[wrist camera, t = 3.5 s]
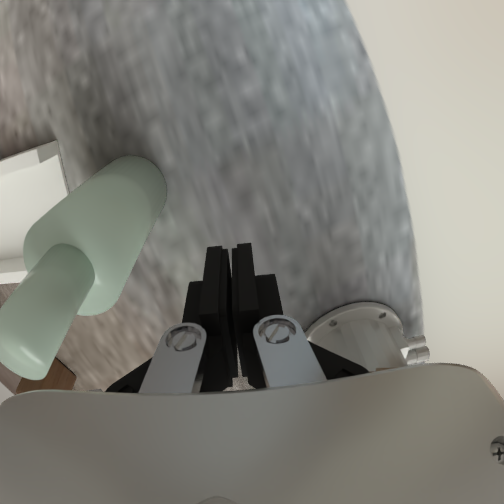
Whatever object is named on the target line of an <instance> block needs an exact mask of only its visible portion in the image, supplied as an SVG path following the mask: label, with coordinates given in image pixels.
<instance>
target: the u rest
mask: <svg viewBox="0 0 504 504" xmlns="http://www.w3.org/2000/svg"><path fill="white" fill-rule="evenodd" d="M69 194H70V193H69V190H68V186H67V182H66V178H65V173H64V169H63V165H62V160H61V156H60V151H59V146H58V141H57V140H56V141H53V142H49V143H46V144H43V145H40V146H37V147H34V148H31V149H28V150H25V151H22V152H19V153H17V154H14V155H11V156H9V157H6V158H3V159H1V160H0V284H7V283H19V282H21V281H22V280H23V279H24V278H25V277H26V275H27V274H28V272H27V270H26V267H25V263H24V257H23V245H24V240H25V237H26V234H27V232H28V231H29V229H30V228H31V226H32V225H33V224H34V223H35V222H36V221H38V220H39V219H40V218H41V217H42V216H43V215H44V214H46V213H47V212H48V211H49V210H50V209H51V208H53V207H54V206H55V205H56V204H57V203H59V202H60V201H61V200H62V199H64V198H65V197H66V196H67V195H69Z"/></svg>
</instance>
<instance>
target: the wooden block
mask: <svg viewBox="0 0 504 504" xmlns="http://www.w3.org/2000/svg"><path fill="white" fill-rule="evenodd" d="M75 381H76V376H75V375H74V374H73V373H72V372H71V371H70V370H68V369H67V368H66V367H65V366H64V365H63V364H62V363H61V362H60V361H58V360H57V359H56V358H54V360H53V362H52V364H51V366H50V368H49V371H48V373H47V375H46V376H45V377H44V378H43V379H41V380H31V379H27V378H24V377H22V379H21V381H20V383H19V385H18V387H17V389H16V393H17V394H21V393H24V392H28V391H35V390H72V388H73V386H74V383H75Z"/></svg>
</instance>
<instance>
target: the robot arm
mask: <svg viewBox="0 0 504 504" xmlns="http://www.w3.org/2000/svg"><path fill="white" fill-rule="evenodd" d="M425 344H426V339H425V336H424V335H420V336H415V337H412V338H409V339H407V338H406V337H403V325H402V323H401V321H400V319H399V317H398V316H397V314H396V313H395V312H394V311H393V310H392V309H391V308H390V307H388V306H385V305H383V304H380V303H375V302H360V303H353V304H349V305H346V306H343V307H340V308H338V309H335V310H333V311H331V312H329V313H328V314H326V315H324V316H323V317H321V318H320V319H318V320H317V321H316V322H315V323H314V324H312V325H311V327H310V328H309V329H308V330H307V331H306V332H305V334H304V332H303V330H302V328H301V326H300V324H299V323H298V322H297V321H296V320H295V319H293V318H292V317H289V316H286V315H283V310H282V306H281V301H280V296H279V291H278V286H277V281H276V277H275V274H268V275H258V276H255V272H254V263H253V254H252V246H251V243H244V244H237V248H232V276H231V269H230V262H229V254H228V249H222V246H214V247H207V253H206V261H205V268H204V275H203V281H194V282H190V283H189V286H188V292H187V297H186V303H185V308H184V314H183V320H182V323H180V324H177V325H174V326H172V327H170V328H169V329H168V330H167V331H165V332H164V334H163V335H162V337H161V339H160V342H159V344H158V346H157V349H156V351H155V354H154V356H153V357H152V358H151V359H149V360H148V361H146V362H145V363H143V364H142V365H140V366H139V367H137V368H136V369H134V370H133V371H131V372H130V373H128V374H127V375H125V376H124V377H122V378H121V379H119V380H118V381H116V382H115V383H113V384H112V385H111V386H110V387H109V388H108V389H107V390H106V391H105V392H103V391H102V390H101V389H96V390H89V391H74V390H35V391H28V392H24V393H21V394H17V395H15V396H12V397H10V398H8V399H6V400H5V401H4V402H2V403H1V405H0V504H504V400H503V399H502V397H501V396H500V394H499V393H498V391H497V390H496V389H495V387H494V386H493V385H492V384H491V382H490V381H489V380H488V379H487V378H486V377H485V376H484V375H483V374H481V373H480V372H479V371H477V370H476V369H474V368H471V367H468V366H465V365H460V364H452V363H451V364H450V363H425V364H417V363H421V362H424V361H428V359H429V356H430V353H429V349H428V347H427V346H425ZM237 346H238V352H239V358H240V364H241V370H242V376H243V377H248V383H249V384H250V385H251V386H253V387H254V388H256V389H249V390H236V391H223V390H225V389H226V388H227V387H233V381H232V378H236V377H238V359H237ZM409 349H412V350H409ZM410 364H417V365H410ZM408 365H409V366H408Z"/></svg>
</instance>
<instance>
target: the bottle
mask: <svg viewBox="0 0 504 504" xmlns="http://www.w3.org/2000/svg"><path fill="white" fill-rule="evenodd" d="M166 197H167V187H166V182H165V179H164V177H163V175H162V173H161V172H160V170H159V169H158V168H157V167H156V166H155V165H154V164H153V163H152V162H150V161H149V160H147V159H145V158H142V157H139V156H123V157H120V158H118V159H116V160H114V161H112V162H111V163H110V164H108V165H107V166H105V167H104V168H103V169H101V170H100V171H99V172H97V173H96V174H94V175H93V176H92V177H90V178H89V179H88V180H86V181H85V182H84V183H83V184H81V185H80V186H79V187H77V188H76V189H75V190H74V191H72V192H71V193H70V194H69V195H67V196H66V197H65V198H64V199H62V200H61V201H60V202H59V203H57V204H56V205H55V206H54V207H53V208H51V209H50V210H49V211H48V212H47V213H46V214H44V215H43V216H42V217H41V218H40V219H39V220H38V221H36V222H35V223H34V224H33V225H32V226H31V228H30V229H29V231H28V232H27V234H26V237H25V240H24V245H23V257H24V263H25V267H26V270H27V272H28V274H27V275H26V277H25V278H24V279H23V280H22V281H21V283H20V284H19V285H18V286H17V288H16V289H15V290H14V291H13V293H12V294H11V295H10V297H9V298H8V299H7V301H6V302H5V303H4V304H3V306H2V307H1V308H0V362H1V363H2V364H3V365H5V366H6V367H7V368H8V369H10V370H11V371H13V372H14V373H16V374H18V375H20V376H22V377H24V378H27V379H31V380H41V379H43V378H44V377H45V376H46V375H47V373H48V371H49V368H50V366H51V364H52V362H53V360H54V358H55V356H56V354H57V352H58V350H59V348H60V345H61V343H62V341H63V340H64V338H65V336H66V334H67V332H68V330H69V328H70V326H71V324H72V322H73V320H74V318H75V316H76V315H84V316H90V315H97V314H100V313H103V312H105V311H107V310H108V309H110V308H111V307H112V306H113V305H114V304H115V303H116V302H117V300H118V298H119V296H120V294H121V292H122V290H123V287H124V285H125V283H126V281H127V279H128V277H129V274H130V272H131V270H132V268H133V266H134V264H135V262H136V260H137V258H138V256H139V254H140V252H141V250H142V248H143V246H144V244H145V242H146V240H147V238H148V236H149V234H150V232H151V230H152V228H153V226H154V224H155V222H156V220H157V218H158V216H159V214H160V213H161V211H162V209H163V207H164V205H165V202H166Z"/></svg>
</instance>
